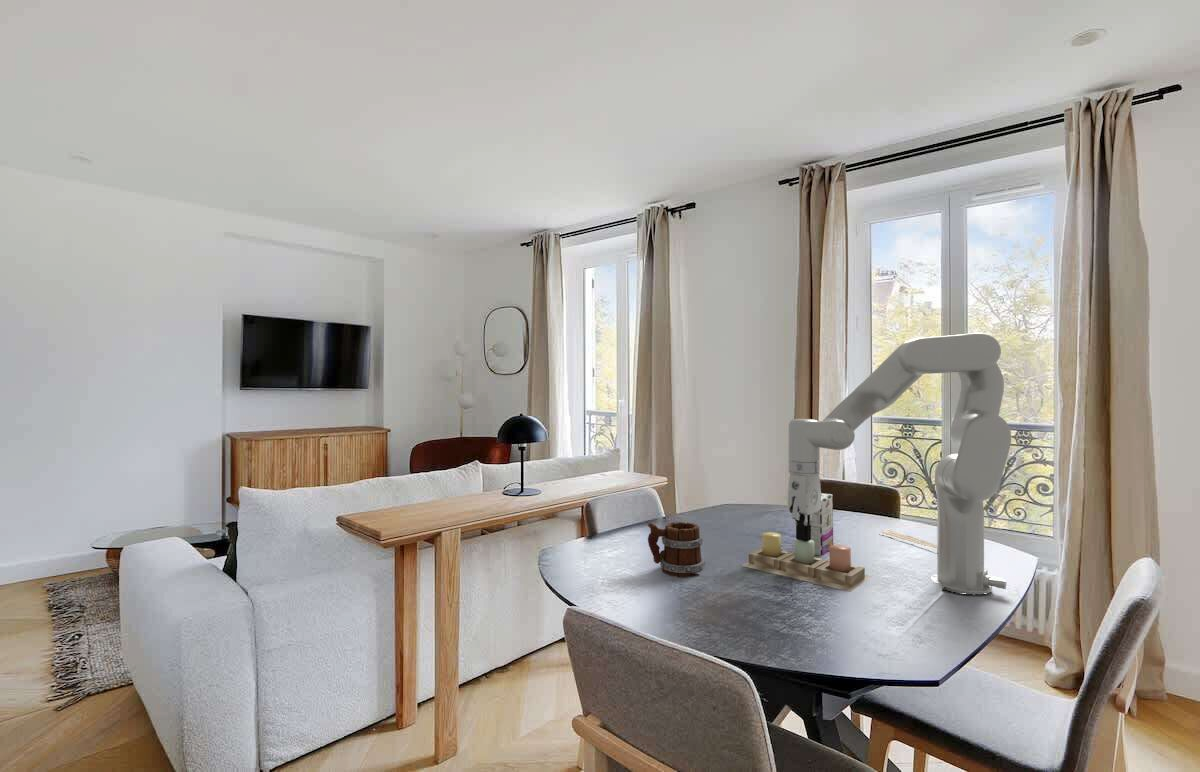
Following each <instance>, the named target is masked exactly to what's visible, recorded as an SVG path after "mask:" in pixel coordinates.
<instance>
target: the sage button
mask: <svg viewBox="0 0 1200 772" xmlns="http://www.w3.org/2000/svg"><path fill="white" fill-rule="evenodd" d="M793 541H794V543H793V544H794V545H793V548H794V549H793V550H794V551H793V553H794V560H795V561H796V562H799V563H814V557H815V554H814V541H813V540H809V541H802V540H797V539H796V538H795V539H794V540H793Z"/></svg>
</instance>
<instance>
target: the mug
mask: <svg viewBox="0 0 1200 772" xmlns="http://www.w3.org/2000/svg"><path fill="white" fill-rule="evenodd" d="M647 527H648V528H649V529H650V533H648V536H647V542H648V547H649V550H650V552H651V554H652V556H653V562H654V563H655V564H659V565H660V567H661V571H662V572H663V573H664V574H666V575H668V576H671V577H675V576H676V577H679V578H693V577H697V576H700V575H701V574H700V573H697V572H700V571H703V570H704V568H705V565H706V561H705V560H704V558H702V550H701V546H702V545H703V541H704V539H703V537H702V536H701V535H700V526H699V524H696V523H692V522H687V521H686V522H684V521H676V522H671V523H666V524H665V528H660V527H658V526H657V525H656V524H655V523H652V522H648V523H647ZM660 537H661V543H662V545H664V546H663V550H661V551H660V548H661V547H660V546H659V544H658V542H659V539H660Z"/></svg>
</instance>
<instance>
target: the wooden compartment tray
mask: <svg viewBox="0 0 1200 772" xmlns="http://www.w3.org/2000/svg"><path fill="white" fill-rule="evenodd" d="M741 567H745V568H749V569H754V570H759V571H762V572H766V573H770V574H773V575H779V576H783V577H787V578H792V579H796V580H800V581H805V582H808V583H812V584H817V585H821V586H826V587H829V588H834V589H838V590H843V591H846V592H851V591H853V590H854V589H856V588H857V587H859V586H861V584H863V583H864V582H866V581H867V580H869V579H870V578H871V577H872V575H867V574H865V573H866V571H865V570H866V569H865V568H866V567H865V566H864V567H863V566H858V565H855V564H854V565H853V564H851V570H850V571H837V570H833V569H831V568H830V567H829V559H824V558H820V557H816V556H814V563H799V562H796V561H795V560H794V552H790V551H786V550H785V551H784V550H781V555H780V556H767V555H764V554H762V547H761V548H759V549H756V550H754V551H752V552H750V553H748V562H745V563H744V564H741Z"/></svg>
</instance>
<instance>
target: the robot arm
mask: <svg viewBox="0 0 1200 772" xmlns="http://www.w3.org/2000/svg"><path fill="white" fill-rule="evenodd" d="M1001 351H1002V348H1001V345H1000V343H999V341H998V340H997V339H996V338H995V337H994V336H992V335H990V334H988V333H983V332H971V333H962V334H954V335H953V334H952V335H942V336H940V335H939V336H928V337H927V336H924V337H917V338H912V339H909V340H906V341H904V342H903V343H901V344H900V345H899V346H898V347H896V349H894V351H892V352H891V354H889V356H888V357H887V358H886V359H885V360H884V361H883V362H881V363H880V364H879V366H878V367H877V368H875V370H874V371H873V372H872V373H870V375H869V376H868V377H866V378H865V380H863V381H862V382H861V383H860V384H859V385H857V387H855V389H854V390H853V391H852V392H851V393H850V394H848V395H847V397H845V398H844V399H843V400H842V401H841V402H840V403H838V405H837V406H835V408H834V409H833V410H831V412H830V413H828V415H827V416H825V418H824V419H823V420H822V421H821V420H820V421H819V420H816V419H813V418H812V419H811V418H795V419H792V420H790V421H789V423H788V459H787V460H788V464H787V469H788V471H787V473H788V474H789V479H788V488H787V489H788V492H787V509H788V510H787V511H788V512H789V513H791V519H792V520H794V523H795V539H797V540H802V541H809V540H811V525H810V524H811V523H812V515H813V514H814V513H815V512H818V511H819V510H820V509H821V493H822V491H821V490H822V488H821V477H820V474H821V473H820V472H821V471H820V470H821V469H820V465H821V462H820V461H821V459H820V458H821V456H820V455H821V449H828V450H834V451H842V450H843V451H844V450H846V449H848V448H849V447H850V446H851V445H852V444H853V443H854V441H855V437H856V434H855V431H856V430H857V429H858V428H859V427H860V426H861V425H862V424H863V423H864V422H865V421H867V420H868V419H869V418H870V417H872V416H873V415H875V414H877V413H879V412H881V411H884V410H885V409H887V408H889V407H890V406H892V405H893V404H894V403H895V402H896V401H897V400H898V399H899V398H900V397H901V396H902V395H903V394H904V393H905V392H906V391H907V390H908V389H910V387H911V386H912V385H913V384H915V383H916V382H917V381H918V379H920V378H921V377H922V376H923V375H926V374H927V375H930V374H931V375H932V374H947V373H948V374H950V373H957V374H958V376H959V378H960V392H959V398H958V400H957V405H956V409H955V413H954V416H953V420H952V423H951V427H950V438H951V440H952V441H953V443H955V444H956V445H957V446H958V447H959V448H958V452H957V453H952V454H948V455H946V456H944V457H942V458H941V459H940V461H938V463H937V464H936V468H935V472H934V481H935V482H934V484H935V491H936V498H937V499H936V500H937V518H936V521H937V528H936V529H937V534H936V536H937V537H936V539H937V544H936V545H937V560H936V561H937V566H936V567H937V573H935V574H932V575H931V576H930V580H931V582H933V583H934V584H935V583H936V584H938V585H939V586H942V588H941V590H942V589H944V590H943V591H945V590H948V591H952V592H951V593H953V592H957V593H956V594H958V593H966V594H984V593H989V592H991V591H993V587H994V588H997V589H1002V590H1006V589H1007V580H1005V579H1003V577H999V576H992V575H990V574H989V573H988V568H987V569H986V568H985V508H984V507H985V506H984V501H987V500H989V499H990V498H992V496H993V497H994V495H995V493H996V492H997V490H998V489H999V486H1000V484H1001V481H1002V478H1003V474H1004V471H1005V467H1006V464H1007V460H1008V456H1009V453H1010V449H1011V445H1012V444H1011V443H1012V431H1011V428H1010V426H1009V424H1008V423H1007V421H1006V420H1005V419H1004V418H1003V417H1001V416H1000V411H1001V407H1002V403H1003V402H1002V401H1003V396H1004V389H1005V381H1004V376H1003V373H1002V371H1001V369H1000V367H999V365H998V363H997V362H998V361H999V359H1000V358H1001V353H1002V352H1001ZM948 591H947V592H948ZM991 593H992V592H991ZM989 594H990V593H989Z"/></svg>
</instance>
